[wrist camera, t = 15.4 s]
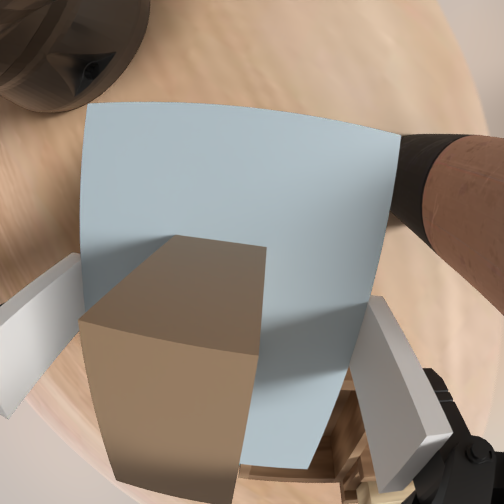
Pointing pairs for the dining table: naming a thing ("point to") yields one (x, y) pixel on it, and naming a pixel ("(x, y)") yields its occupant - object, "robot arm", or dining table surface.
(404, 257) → the dining table surface
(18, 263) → the dining table surface
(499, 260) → the travel mug
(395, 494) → the beige rectangular block
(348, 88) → the dining table surface
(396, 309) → the dining table surface
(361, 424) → the open wooden box
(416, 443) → the robot arm
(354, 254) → the lid
